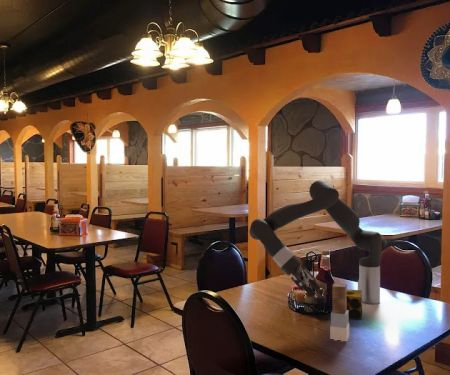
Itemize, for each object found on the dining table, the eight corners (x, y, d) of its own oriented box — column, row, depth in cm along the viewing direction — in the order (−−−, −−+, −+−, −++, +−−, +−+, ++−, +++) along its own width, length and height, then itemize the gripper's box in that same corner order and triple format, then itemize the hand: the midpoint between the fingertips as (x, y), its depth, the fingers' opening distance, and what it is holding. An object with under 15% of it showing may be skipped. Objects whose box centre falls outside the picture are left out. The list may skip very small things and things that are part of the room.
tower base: (330, 339, 160) (330, 326, 160) (333, 333, 166) (333, 320, 165) (346, 342, 158) (346, 328, 158) (349, 336, 163) (349, 323, 163)
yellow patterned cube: (362, 312, 189) (362, 290, 188) (361, 320, 179) (361, 296, 179) (338, 310, 192) (338, 288, 192) (336, 318, 183) (336, 294, 182)
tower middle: (331, 326, 160) (331, 313, 160) (333, 321, 165) (333, 308, 165) (346, 328, 158) (346, 314, 158) (348, 323, 163) (348, 310, 163)
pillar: (332, 312, 160) (332, 285, 160) (334, 308, 164) (334, 282, 164) (345, 314, 158) (344, 287, 158) (346, 310, 163) (346, 283, 162)
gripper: (288, 258, 161) (319, 291, 157) (298, 250, 174) (327, 281, 170) (275, 270, 163) (305, 304, 159) (285, 262, 176) (313, 293, 172)
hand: (316, 292), depth 165 cm, fingers open, 8 cm apart
